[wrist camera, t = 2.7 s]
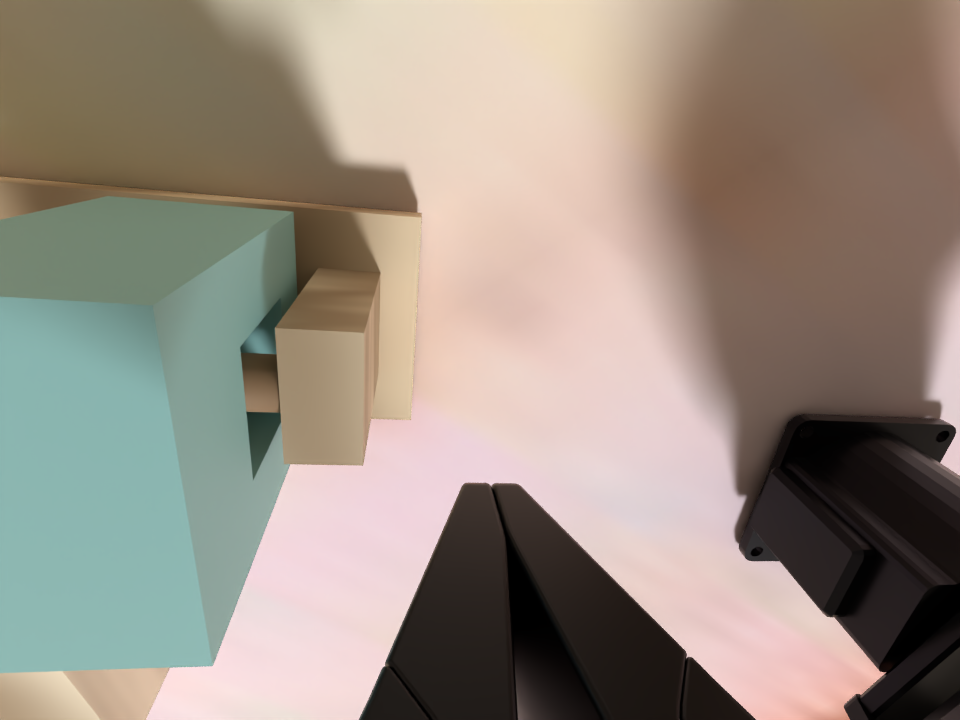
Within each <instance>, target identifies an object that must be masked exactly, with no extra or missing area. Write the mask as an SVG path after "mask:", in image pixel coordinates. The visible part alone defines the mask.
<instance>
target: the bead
mask: <svg viewBox="0 0 960 720" xmlns="http://www.w3.org/2000/svg"><path fill="white" fill-rule="evenodd" d="M296 298H297V276H296V254H295V233H294V212H292V211H280V210H268V209H257V208H245V207H233V206H221V205H209V204H197V203H185V202H174V201H162V200H150V199H138V198H126V197H114V196H106V197H101V198H97V199H92V200H88V201H83V202H79V203H74V204H69V205H65V206H60V207H56V208H51V209H47V210H42V211H38V212H33V213H29V214H24V215H19V216H15V217H10V218H6V219H1V220H0V673H21V672H50V671H80V670H109V669H139V668H168V667H198V666H213V664H214V661H215V659H216V656H217V653H218V651H219V648H220V646H221V643H222V640H223V638H224V635H225V633H226V630H227V627H228V625H229V622H230V620H231V617H232V614H233V612H234V609H235V607H236V604H237V601H238V599H239V596H240V594H241V591H242V588H243V586H244V583H245V581H246V578H247V575H248V573H249V570H250V568H251V565H252V562H253V560H254V557H255V555H256V552H257V549H258V547H259V544H260V542H261V539H262V536H263V534H264V531H265V529H266V526H267V523H268V521H269V518H270V516H271V513H272V510H273V508H274V505H275V503H276V500H277V497H278V495H279V492H280V490H281V487H282V484H283V482H284V479H285V477H286V474H287V471H288V469H289V466H290V464H284V458H283V443H282V428H281V413H272V412H246V403H245V393H244V382H243V372H242V362H241V353H260V354H277V353H276V338H275V327H276V326H277V324H278V323H279V322H280V320H281V319H282V318H283V316H284V315H285V313H286V312H287V311H288V309H289V308H290V306H291V305H292V304H293V302H294V301H295V300H296Z"/></svg>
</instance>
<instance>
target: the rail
mask: <svg viewBox="0 0 960 720" xmlns="http://www.w3.org/2000/svg"><path fill="white" fill-rule="evenodd" d="M106 196H114V197H126V198H138V199H150V200H162V201H174V202H185V203H197V204H209V205H221V206H233V207H245V208H257V209H268V210H280V211H292V212H294V233H295V254H296V276H297V298H296V300H295V301H294V302H293V304H292V305H291V306H290V308H289V309H288V311H287V312H286V313H285V315H284V316H283V318H282V319H281V320H280V322H279V323H278V324H277V326H276V327H275V338H276V353H277V354H260V353H241V362H242V372H243V382H244V393H245V403H246V412H272V413H281V428H282V443H283V458H284V464H312V465H363V463H364V457H365V451H366V445H367V439H368V433H369V427H370V421H371V419H396V420H411V408H412V389H413V370H414V351H415V332H416V313H417V294H418V275H419V256H420V238H421V219H422V216H421V213H415V212H403V211H392V210H380V209H369V208H357V207H346V206H334V205H323V204H311V203H300V202H288V201H277V200H265V199H254V198H242V197H231V196H219V195H208V194H196V193H185V192H173V191H162V190H150V189H138V188H127V187H115V186H104V185H92V184H81V183H69V182H58V181H46V180H35V179H23V178H12V177H0V220H1V219H6V218H10V217H15V216H19V215H24V214H29V213H33V212H38V211H42V210H47V209H51V208H56V207H60V206H65V205H69V204H74V203H79V202H83V201H88V200H92V199H97V198H101V197H106Z"/></svg>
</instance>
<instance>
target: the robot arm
mask: <svg viewBox="0 0 960 720" xmlns="http://www.w3.org/2000/svg"><path fill="white" fill-rule="evenodd" d="M803 428H804V430H802V429H803ZM801 430H802V431H801ZM955 434H956V428H955V427H954V426H953V425H951V424H949V423H947V422H945V421H944V420H941V419H924V418H896V417H868V416H841V415H813V414H802V415H798V416H796V417H794V418H792V419H791V420H790V421H789V423H788V424H787V426H786V428H785V431H784V433H783V436H782V438H781V441H780V443H779V446H778V448H777V451H776V453H775V456H774V458H773V461H772V464H771V466H770V469H769V471H768V474H767V476H766V479H765V481H764V484H763V486H762V489H761V491H760V494H759V496H758V499H757V501H756V504H755V506H754V509H753V511H752V514H751V516H750V519H749V521H748V524H747V526H746V529H745V531H744V534H743V536H742V539H741V541H740V544H739V550H740V551H741V553H742V554H743V555H744V557H745V558H746V559H747V560H749V561H780V562H781V563H782V564H783V566H784V567H785V568H786V569H787V570H788V572H789V573H790V574H791V575H792V576H793V578H794V579H795V580H796V581H797V583H798V584H799V585H800V586H801V587H802V589H803V590H804V591H805V592H806V593H807V595H808V596H809V597H810V598H811V599H812V601H813V602H814V603H815V604H816V605H817V607H818V608H819V609H820V610H821V611H822V613H823V614H824V615H826V616H827V617H835V619H836V620H837V621H838V622H839V623H840V624H841V626H842V627H843V628H844V629H845V630H846V632H847V633H848V634H849V635H850V636H851V637H852V639H853V640H854V641H855V642H856V643H857V645H858V646H859V647H860V648H861V649H862V650H863V652H864V653H865V654H866V655H867V656H868V658H869V659H870V660H871V661H872V662H873V663H874V665H875V666H876V667H877V668H878V669H879V671H881V672H886V673H885V674H884V675H883V676H882V677H881V678H880V679H879V680H877V681H876V682H875V683H874V684H873V685H872V686H871V687H870V688H868V689H867V690H866V691H865V692H864V693H863V694H862V695H860V694H856V695H854V696H853V697H852V698H851V699H850V700H849V701H848V702H847V703H845V704H844V708H845V711H846V713H847V714H848V716H849V718H850V720H960V476H959V475H958V474H956V473H954V472H953V471H951V470H950V469H948V468H947V467H945V466H944V465H942V464H940V462H941V460H942V458H943V456H944V455H945V453H946V451H947V449H948V447H949V446H950V444H951V442H952V440H953V439H954V437H955ZM686 656H687V654H686V651H685V650H684V649H683V648H682V647H681V646H680V645H679V644H678V643H677V642H676V641H675V640H674V639H673V638H672V637H671V636H670V635H669V634H668V633H667V632H666V631H665V630H664V629H663V628H662V627H661V626H660V625H659V624H658V623H657V622H656V621H655V620H654V619H653V618H652V617H651V616H650V615H649V614H648V613H647V612H646V611H645V610H644V609H643V608H642V607H641V606H640V605H639V604H638V603H637V602H636V601H635V600H634V599H633V598H632V597H631V596H630V595H629V594H628V593H627V592H626V591H625V590H624V589H623V588H622V587H621V586H620V585H619V584H618V583H617V582H616V581H615V580H614V579H613V578H612V577H611V576H610V575H609V574H608V573H607V572H606V571H605V570H604V569H603V568H602V567H601V566H600V565H599V564H598V563H597V562H596V561H595V560H594V559H593V558H592V557H591V556H590V555H589V554H588V553H587V552H586V551H585V550H584V549H583V548H582V547H581V546H580V545H579V544H578V543H577V542H576V541H575V540H574V539H573V538H572V537H571V536H570V535H569V534H568V533H567V532H566V531H565V530H564V529H563V528H562V527H561V526H560V525H559V524H558V523H557V522H556V521H555V520H554V519H553V518H552V517H551V516H550V515H549V514H548V513H547V512H546V511H545V510H544V509H543V508H542V507H541V506H540V505H539V504H538V503H537V502H536V501H535V500H534V499H533V498H532V497H531V496H530V495H529V494H528V493H527V492H526V491H525V490H524V489H523V488H522V487H521V486H520V485H518V484H513V483H495V484H493V485H492V486H490V485H489V484H488V483H465V484H463V486H462V487H461V490H460V492H459V494H458V497H457V499H456V501H455V504H454V506H453V508H452V510H451V513H450V515H449V517H448V520H447V522H446V524H445V526H444V529H443V531H442V533H441V536H440V538H439V540H438V543H437V545H436V547H435V549H434V552H433V554H432V556H431V559H430V561H429V563H428V565H427V568H426V570H425V572H424V575H423V577H422V579H421V582H420V584H419V586H418V588H417V591H416V593H415V595H414V598H413V600H412V602H411V604H410V607H409V609H408V611H407V614H406V616H405V618H404V621H403V623H402V625H401V627H400V630H399V632H398V634H397V637H396V639H395V641H394V643H393V646H392V648H391V650H390V653H389V655H388V657H387V660H386V662H385V667H383V668H382V670H381V672H380V675H379V677H378V679H377V681H376V684H375V686H374V688H373V690H372V693H371V695H370V697H369V700H368V702H367V704H366V706H365V708H364V710H363V712H362V714H361V716H360V718H359V720H756V719H755V718H754V717H753V716H752V715H751V714H750V713H748V712H747V711H746V710H745V709H744V708H743V707H742V706H741V705H740V704H739V703H738V702H737V701H736V700H735V699H734V698H733V697H732V696H731V695H730V694H729V693H728V692H727V691H726V690H725V689H724V688H722V687H721V686H720V685H719V684H718V683H717V682H716V681H715V680H714V679H713V678H712V677H711V676H710V675H709V674H708V673H707V672H706V671H705V670H704V669H703V668H702V667H701V666H700V665H699V664H698V663H697V662H696V661H695V660H694V659H693V658H692V657H688V658H687V659H686Z"/></svg>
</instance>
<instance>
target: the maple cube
mask: <svg viewBox="0 0 960 720" xmlns="http://www.w3.org/2000/svg"><path fill="white" fill-rule="evenodd" d="M169 668H170V667H168V668H139V669H109V670H80V671H50V672H21V673H0V720H146V718H147V716H148V714H149V712H150V709H151V707H152V705H153V703H154V701H155V699H156V696H157V694H158V692H159V690H160V688H161V686H162V683H163V681H164V679H165V677H166V675H167V673H168V671H169Z"/></svg>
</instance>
